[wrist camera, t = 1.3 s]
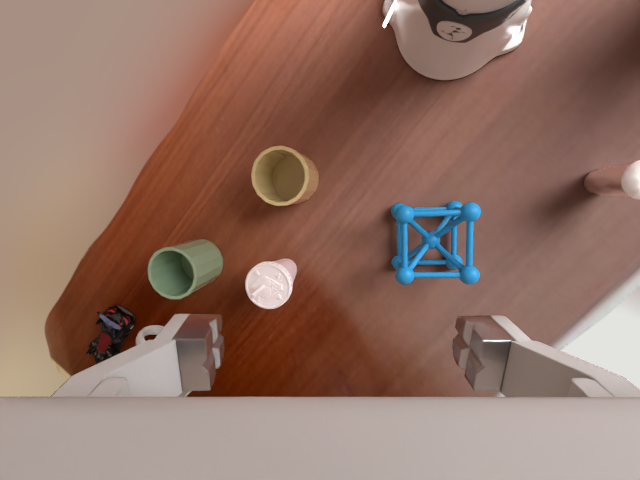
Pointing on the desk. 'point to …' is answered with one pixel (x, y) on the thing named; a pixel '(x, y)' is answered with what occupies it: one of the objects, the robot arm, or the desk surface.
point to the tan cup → (284, 176)
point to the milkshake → (616, 180)
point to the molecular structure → (435, 242)
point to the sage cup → (184, 268)
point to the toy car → (111, 333)
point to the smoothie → (271, 283)
